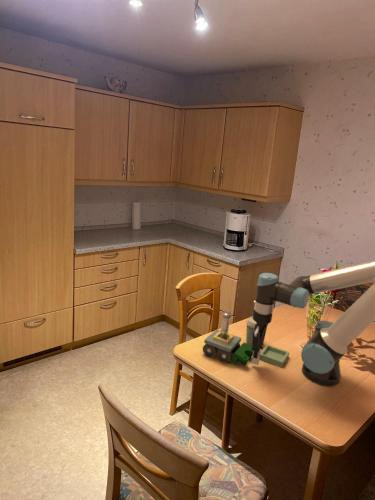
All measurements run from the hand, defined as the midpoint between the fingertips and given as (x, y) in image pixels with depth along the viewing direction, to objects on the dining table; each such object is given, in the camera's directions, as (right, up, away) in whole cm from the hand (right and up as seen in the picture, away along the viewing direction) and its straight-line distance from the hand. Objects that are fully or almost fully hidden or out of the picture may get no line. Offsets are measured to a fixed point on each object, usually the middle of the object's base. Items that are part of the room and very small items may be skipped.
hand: (255, 363), depth 155 cm
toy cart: (-14, +2, +7) cm, 15 cm away
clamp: (-5, -1, +4) cm, 6 cm away
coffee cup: (+2, +3, +19) cm, 20 cm away
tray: (+10, 0, +9) cm, 13 cm away
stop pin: (-13, +9, +5) cm, 16 cm away
